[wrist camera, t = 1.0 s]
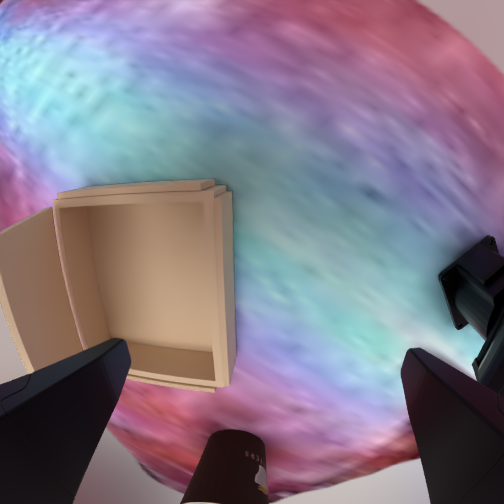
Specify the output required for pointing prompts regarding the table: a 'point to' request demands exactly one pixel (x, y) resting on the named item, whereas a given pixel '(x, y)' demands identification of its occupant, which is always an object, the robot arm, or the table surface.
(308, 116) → the table surface
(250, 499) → the coffee mug
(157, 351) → the kraft box
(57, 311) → the flap
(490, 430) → the robot arm
